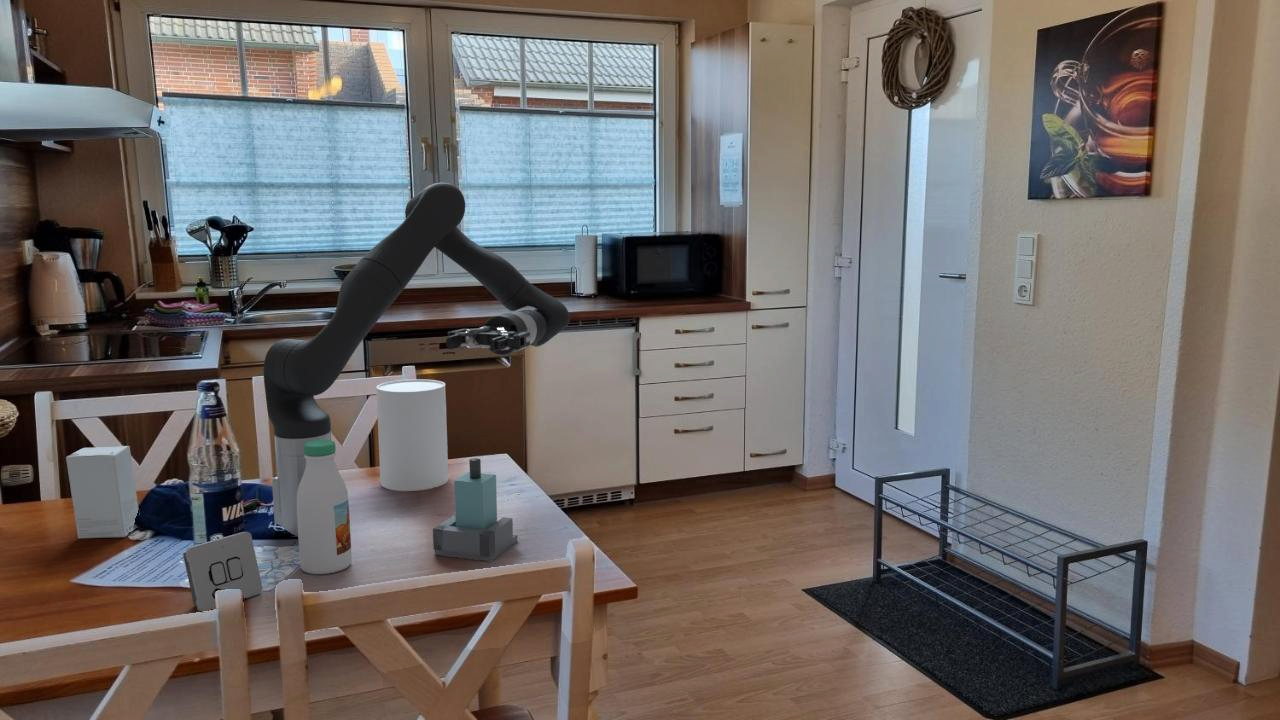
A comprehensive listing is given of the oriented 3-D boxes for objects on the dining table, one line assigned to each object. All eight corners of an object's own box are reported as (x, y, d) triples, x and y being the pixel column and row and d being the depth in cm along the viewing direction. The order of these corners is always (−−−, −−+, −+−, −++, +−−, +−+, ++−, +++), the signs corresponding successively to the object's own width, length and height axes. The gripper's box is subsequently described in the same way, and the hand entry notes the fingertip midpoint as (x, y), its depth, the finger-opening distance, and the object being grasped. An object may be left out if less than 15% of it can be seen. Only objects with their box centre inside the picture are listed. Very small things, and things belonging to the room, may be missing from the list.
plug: (470, 535, 158) (468, 454, 156) (497, 538, 157) (495, 457, 155) (456, 545, 154) (453, 462, 151) (484, 548, 152) (481, 465, 150)
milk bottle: (322, 579, 142) (315, 451, 139) (289, 569, 146) (281, 444, 143) (362, 563, 149) (356, 440, 145) (329, 553, 153) (323, 434, 149)
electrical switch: (201, 615, 130) (193, 550, 129) (183, 609, 133) (175, 545, 132) (264, 594, 137) (257, 532, 136) (246, 588, 140) (239, 528, 139)
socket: (464, 534, 162) (463, 509, 161) (517, 540, 159) (516, 515, 158) (433, 555, 152) (432, 528, 151) (489, 562, 149) (489, 535, 148)
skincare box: (141, 527, 165) (134, 444, 163) (123, 539, 159) (116, 454, 157) (92, 527, 165) (84, 445, 162) (73, 539, 159) (64, 454, 156)
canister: (418, 468, 202) (414, 376, 199) (462, 478, 194) (459, 384, 191) (366, 483, 191) (362, 386, 188) (411, 495, 184) (407, 394, 180)
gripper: (476, 311, 180) (433, 321, 165) (544, 314, 176) (507, 324, 161) (477, 350, 182) (434, 363, 166) (545, 353, 177) (508, 367, 162)
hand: (470, 344), depth 164 cm, fingers open, 8 cm apart
